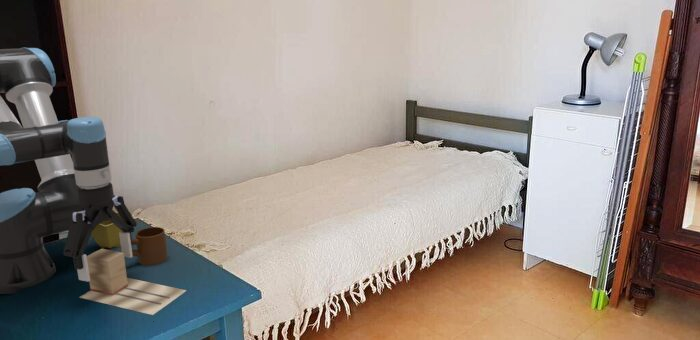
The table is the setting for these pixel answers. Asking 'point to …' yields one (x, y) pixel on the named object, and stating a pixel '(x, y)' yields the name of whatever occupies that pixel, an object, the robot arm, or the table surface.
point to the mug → (150, 246)
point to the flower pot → (107, 234)
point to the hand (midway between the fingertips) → (107, 267)
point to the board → (138, 296)
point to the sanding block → (107, 271)
